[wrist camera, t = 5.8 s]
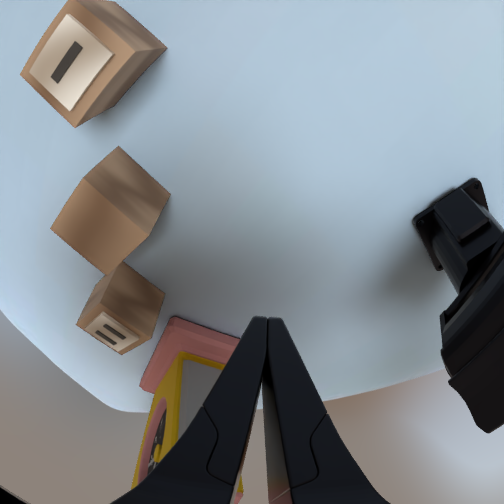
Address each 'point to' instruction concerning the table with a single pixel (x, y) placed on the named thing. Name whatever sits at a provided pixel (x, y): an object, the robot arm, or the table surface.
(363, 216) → the table surface
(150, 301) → the numbered block
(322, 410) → the robot arm
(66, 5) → the numbered block
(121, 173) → the plain block
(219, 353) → the pink yellow upright block
